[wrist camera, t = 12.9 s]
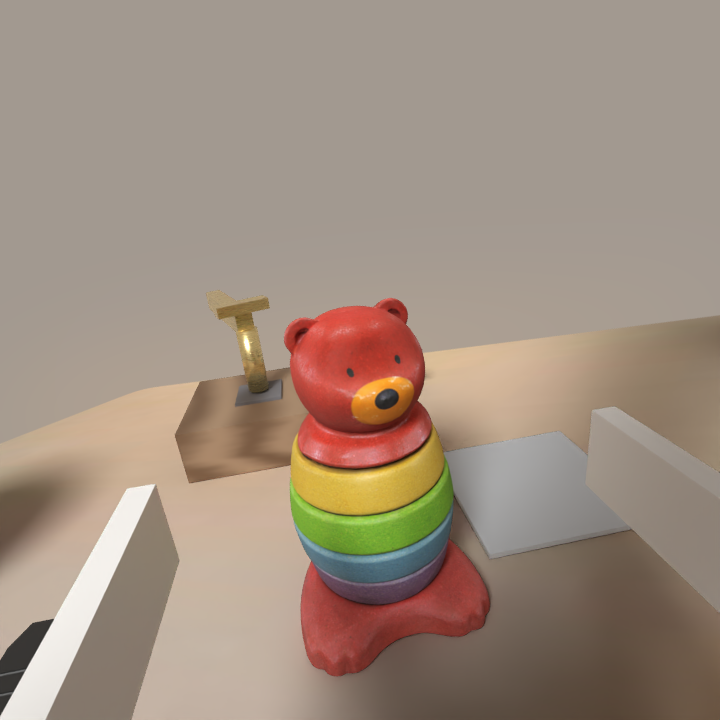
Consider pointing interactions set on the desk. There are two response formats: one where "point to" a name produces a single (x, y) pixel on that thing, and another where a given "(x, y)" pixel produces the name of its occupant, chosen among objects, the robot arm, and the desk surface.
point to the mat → (528, 494)
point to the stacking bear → (372, 492)
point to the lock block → (239, 426)
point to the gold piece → (243, 333)
